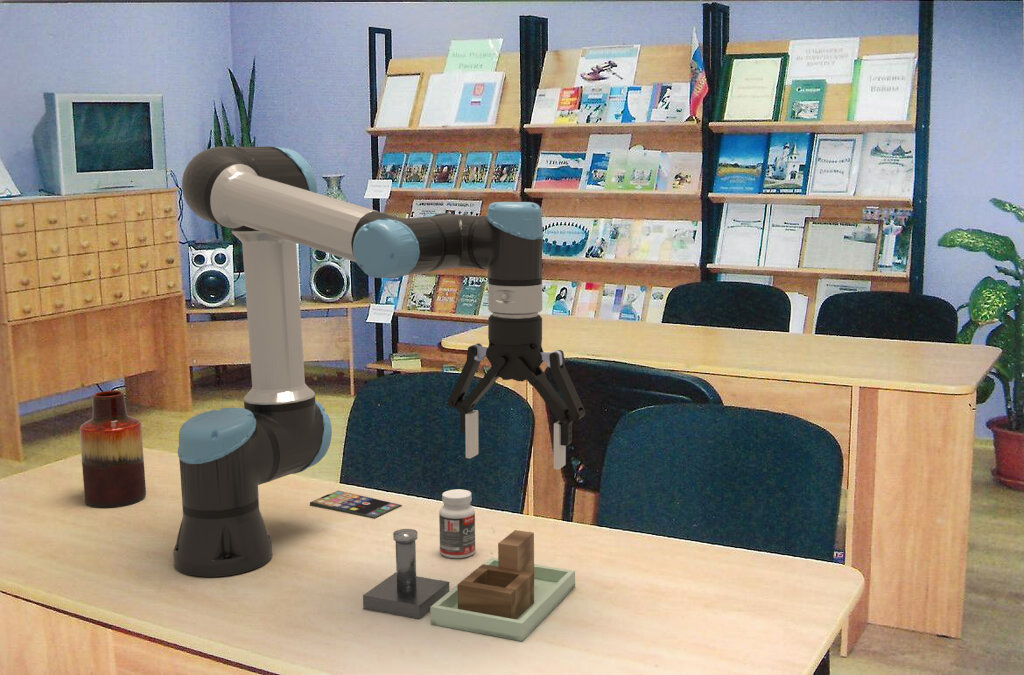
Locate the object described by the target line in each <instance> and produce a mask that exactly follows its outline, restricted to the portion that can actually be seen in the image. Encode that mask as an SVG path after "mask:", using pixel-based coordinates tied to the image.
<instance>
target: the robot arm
mask: <svg viewBox="0 0 1024 675" xmlns="http://www.w3.org/2000/svg"><path fill="white" fill-rule="evenodd" d="M181 190H182V195H183V197H184V201H185V202H186V205H187V206H188V208H189V209H190V210H191V211H192V212H193V214H195V215H196V216H197V217H199V218H200V219H203V220H205V221H207V222H209V223H212V224H215V225H219V226H223V227H225V228H228V229H231V234H232V235H233V236H235V238H237V239H238V240H239V241H240V242H241V245H242V246H241V247H242V261H243V272H244V275H243V276H244V287H245V302H246V314H247V328H248V329H247V330H248V345H249V356H250V358H249V359H250V371H251V372H250V374H251V385H252V386H251V389H250V390H249V391H248V392H247V393H246V394H245V396H244V397H243V407H244V408H242V407H224V408H220V409H211V410H208V411H204V412H202V413H198V414H196V415H194V416H192V417H190V418H189V419H187V420H186V421H185V422H184V423H183V424H182V425H181V427H180V429H179V431H178V448H177V457H178V459H179V471H180V485H181V487H180V489H181V504H182V506H181V507H182V519H181V522H180V526H179V529H178V533H177V538H176V543H175V546H174V548H173V564H174V567H175V569H176V570H177V571H179V572H180V573H182V574H184V575H189V576H195V577H204V578H205V577H207V578H208V577H209V578H211V577H212V578H213V577H217V578H218V577H227V576H235V575H239V574H243V573H247V572H250V571H253V570H255V569H258V568H261V567H262V566H264V565H266V564H268V562H270V561H271V559H272V558H273V554H274V553H273V541H272V538H271V536H270V534H269V532H268V530H267V527H266V524H265V522H264V519H263V516H262V513H261V510H260V504H259V503H260V502H259V486H260V485H263V484H266V483H270V482H272V481H274V480H278V479H281V478H283V477H287V476H289V475H293V474H294V475H295V474H299V473H301V472H304V471H306V470H307V469H308V468H311V467H313V466H315V465H317V464H318V463H319V462H321V460H322V459H323V458H324V457H325V456H326V455H327V453H328V450H329V449H330V445H331V441H332V436H333V434H332V433H333V430H332V429H333V428H332V422H331V419H330V415H329V414H328V413H326V412H325V411H326V409H325V408H324V406H323V405H322V403H320V401H317V400H316V392H315V391H314V390H312V388H310V387H309V386H308V385H307V384H306V380H305V377H306V376H305V362H304V348H303V347H304V345H303V333H302V332H303V330H302V315H301V312H302V311H301V302H300V300H301V298H300V297H301V296H300V282H299V270H298V269H299V268H298V267H299V265H298V256H297V255H298V254H297V253H298V251H297V250H298V249H297V244H299V245H301V246H305V247H308V248H310V249H314V250H317V251H321V252H323V253H327V254H329V255H333V256H336V257H338V258H341V259H344V260H347V261H351V262H354V263H356V264H357V266H358V267H359V268H360V270H362V271H363V272H364V274H366V275H367V276H369V277H372V278H376V279H384V278H385V279H397V278H400V277H403V276H410V275H411V276H412V275H417V274H422V273H427V272H428V273H429V272H436V271H444V270H450V269H477V270H487V279H488V280H487V283H488V286H487V287H488V295H487V297H488V298H487V300H488V301H487V302H488V303H487V304H488V306H487V309H488V311H489V312H490V313H492V314H490V315H489V317H487V318H488V319H487V324H488V326H487V328H488V329H487V334H488V347H486V346H483V345H482V344H481V343H479V342H478V343H475V344H472V345H470V346H468V347H467V352H466V361H465V362H464V365H463V368H462V369H461V372H460V374H459V376H458V377H457V380H456V382H455V385H454V387H453V389H452V391H451V394H450V396H449V397H448V398H447V403H446V404H447V406H448V407H449V408H454V409H456V410H457V411H458V412H459V430H460V433H461V435H462V434H464V435H465V458H466V459H472V458H474V457H476V456H478V455H479V410H478V409H477V410H476V409H474V408H475V407H476V405H477V404H478V403H479V401H480V400H481V399H482V398H483V397H484V395H485V394H486V393H487V392H488V391H489V389H490V388H491V387H492V386H493V385H494V384H495V383H496V381H497V380H498V379H499V378H501V379H502V381H511V380H513V381H516V382H525V381H527V382H528V384H529V385H530V386H532V387H533V388H534V389H535V391H536V392H537V393H538V395H539V396H540V397H541V399H542V400H543V401H544V402H545V403H546V405H547V407H548V408H549V409H550V411H551V412H552V413H553V415H554V416H555V417H556V418H557V421H555V422H554V423H553V470H558V471H559V470H560V469H562V468H563V467H564V466H566V464H567V462H566V460H567V458H566V457H567V454H566V453H567V452H566V450H567V448H566V447H568V446H569V445H570V444H571V443H572V441H573V422H574V421H578V420H580V419H582V418H583V417H585V415H586V413H587V412H586V410H585V407H584V405H583V403H582V401H581V399H580V397H579V394H578V392H577V389H576V387H575V385H574V382H573V381H572V379H571V376H570V375H569V372H568V369H567V367H566V364H565V354H564V351H563V350H562V349H558V350H555V351H545V352H544V350H543V347H542V343H543V317H541V316H542V315H540V314H539V313H541V312H542V311H543V277H542V276H543V275H542V274H543V273H542V272H543V240H544V232H543V214H542V208H541V206H540V205H539V204H538V203H535V202H531V201H497V202H496V201H495V202H492V203H489V205H488V207H487V212H486V213H487V214H486V215H470V214H469V215H468V214H453V213H452V214H451V213H450V212H442V213H431V214H425V215H423V216H422V217H419V216H418V217H406V218H405V217H398V216H395V215H391V214H388V213H385V212H380V211H378V210H375V209H372V208H368V207H365V206H361V205H358V204H354V203H352V202H347V201H345V200H342V199H341V200H340V199H337V198H335V197H331V196H328V195H325V194H320V193H318V184H317V179H316V176H315V172H314V170H313V169H312V166H310V163H309V162H308V161H307V160H306V159H304V157H303V155H301V154H300V153H299V152H297V151H295V150H293V149H291V148H287V147H277V146H270V145H267V146H227V145H225V146H214V147H211V148H207V149H204V150H203V151H201V152H199V153H198V154H196V155H195V156H193V158H192V159H191V160H190V161H189V162H188V164H187V165H186V168H184V171H183V174H182V179H181ZM485 357H486V359H487V360H488V362H489V363H490V364H491V366H490V367H489V369H488V370H487V371H486V372H485V374H484V376H483V377H482V378H481V379H480V381H479V382H478V383H477V384H476V386H474V388H473V389H472V390H471V391H470V393H469V394H467V392H468V390H469V388H470V386H471V385H472V384H471V383H472V381H473V380H474V377H475V375H476V373H477V371H478V369H479V367H480V364H481V362H482V361H483V360H484V359H485ZM543 362H545V363H546V366H547V368H550V372H551V374H552V377H553V379H554V382H555V383H556V386H557V388H558V390H559V392H560V395H561V396H560V395H559V393H558V392H557V391H556V389H555V388H554V386H553V385H552V384H551V383H550V381H549V380H548V379H547V375H546V372H544V370H542V368H541V365H542V364H543ZM466 394H467V396H466ZM465 396H466V397H465Z"/></svg>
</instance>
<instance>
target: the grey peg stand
mask: <svg viewBox="0 0 1024 675" xmlns="http://www.w3.org/2000/svg"><path fill="white" fill-rule="evenodd" d="M392 536H393V541H395V564H396V565H395V566H396V567H395V568H396V570H395V572H394V573H392V575H390V576H388V577H387V578H385V579H384V580H383V581H381V582H380V583H378V584H377V585H375V586H374V587H373V588H371V589H370V590H368V591H367V592H365V593H364V594H363V595H362V603H363V604H362V606H363V609H364V610H368V611H374V612H379V613H386V614H390V615H394V616H395V615H396V616H401V617H405V618H412V619H417V620H421V619H422V618H423V617H424V616H425V615H427V614H428V613H430V612H431V609H430V607H431V606H432V605H433V604H435V603H436V602H437V601H438V600H440V599H441V598H442V597H443V596H444V595H446V594H447V593H448V592H449V591H450V581H445V580H441V579H434V578H429V577H424V576H418V575H417V557H416V556H417V554H416V552H417V550H416V545H417V544H416V540H417V539H418V531H417V529H412V528H400V529H397V530H394V531H393V534H392Z"/></svg>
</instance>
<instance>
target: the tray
mask: <svg viewBox="0 0 1024 675" xmlns="http://www.w3.org/2000/svg"><path fill="white" fill-rule="evenodd" d="M483 564H484V565H490V566H497V567H498V558H497V557H496V558H495V557H490V558H489V559H488V560H487V561H486V562H484V563H483ZM575 588H576V570H572V569H566V568H559V567H553V566H547V565H540V564H535V563H534V603H533V604H532V605H531V606H530V607H529V608H528V609H527V610H526V611H525V612H524V613H523V614H522V615H521V616H520V617H519V618H518V619H517V620H516V619H510V618H505V617H499V616H494V615H488V614H483V613H477V612H472V611H466V610H460V609H458V593H457V585H455V586H454V587H453V588H451V590H449V592H448V593H447V594H446V595H444V596H443V597H442V598H441V599H440V600H438V601H437V602H436V603H435V604H433V605H432V606H431V607H430V609H431V610H430V625H433V626H438V627H445V628H449V629H455V630H460V631H465V632H469V633H470V632H471V633H477V634H481V635H486V636H492V637H497V638H502V639H508V640H514V641H517V642H518V641H519V642H523V641H524V640H526V638H528V637H529V636H530V634H532V633H533V631H534V630H535V629H536V628H538V626H539V625H540V624H541V623H542V622H543V621H544V620H545V619H546V618H547V617H548V616H549V615H550V613H551V612H553V610H555V609H556V607H557V606H558V605H559V604H560V603H561V602H562V601H563V600H564V599H565V598H566V597H567V596H568V595H569V594H570V593H571V592H572V591H573V590H574V589H575Z"/></svg>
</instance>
